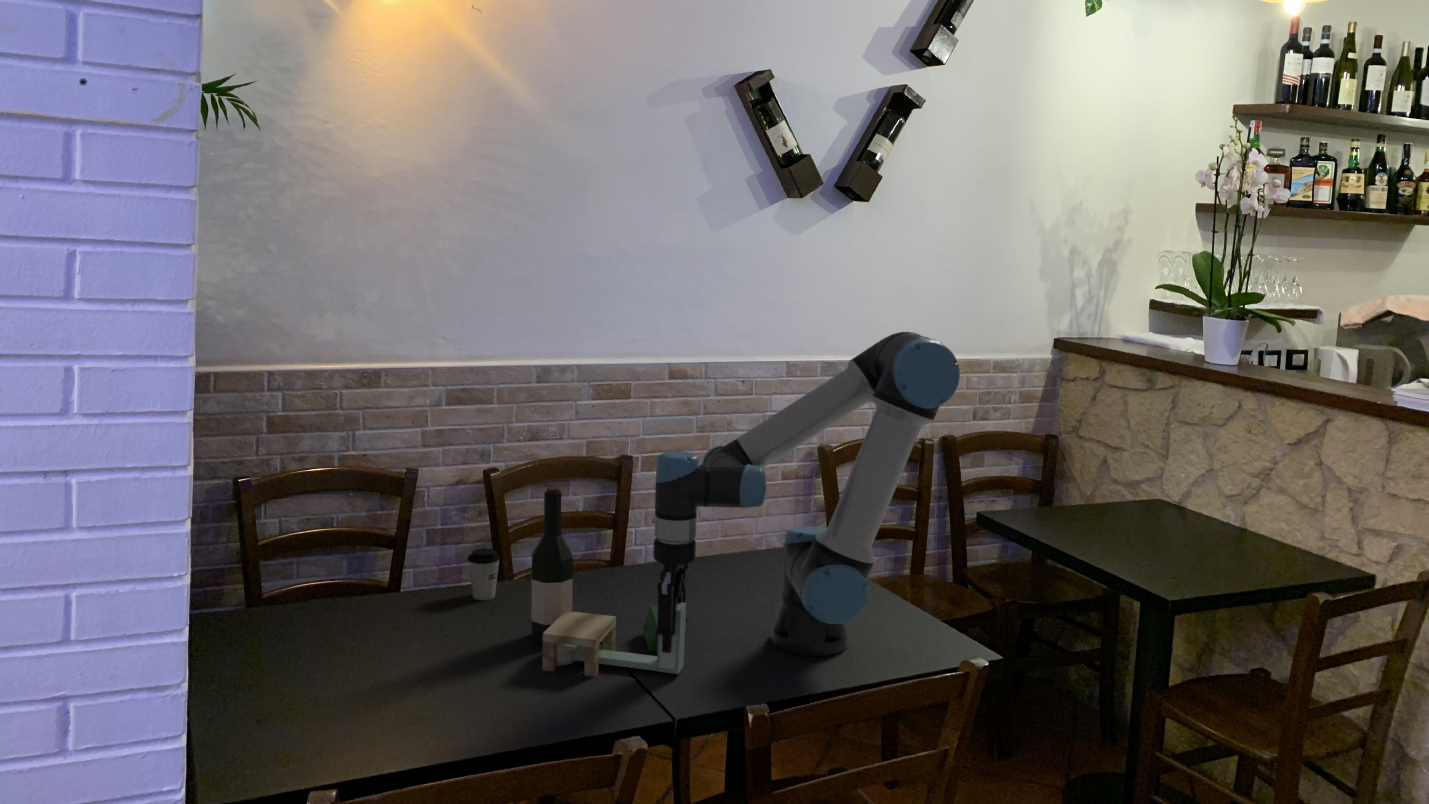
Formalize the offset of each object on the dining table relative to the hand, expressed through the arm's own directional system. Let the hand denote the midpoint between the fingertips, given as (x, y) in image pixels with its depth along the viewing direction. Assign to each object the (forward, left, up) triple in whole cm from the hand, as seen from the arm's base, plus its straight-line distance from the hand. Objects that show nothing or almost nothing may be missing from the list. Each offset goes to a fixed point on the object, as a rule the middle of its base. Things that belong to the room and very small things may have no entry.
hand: (670, 662), depth 195 cm
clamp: (+5, -13, -2) cm, 14 cm away
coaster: (+21, 0, -2) cm, 21 cm away
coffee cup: (+48, -27, -2) cm, 55 cm away
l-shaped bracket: (+8, 0, -1) cm, 8 cm away
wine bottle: (+26, -9, -2) cm, 28 cm away
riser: (+17, 0, -2) cm, 18 cm away
